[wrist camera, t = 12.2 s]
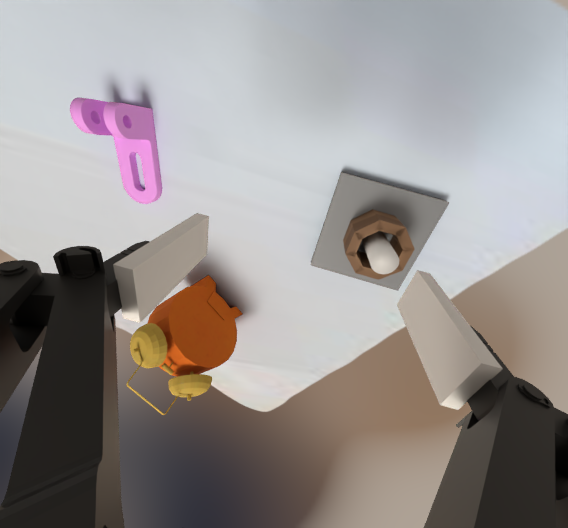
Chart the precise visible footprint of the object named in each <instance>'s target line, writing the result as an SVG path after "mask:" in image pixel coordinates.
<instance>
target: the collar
mask: <svg viewBox="0 0 568 528" xmlns="http://www.w3.org/2000/svg"><path fill="white" fill-rule="evenodd" d="M378 231H382V232H386V233H389V234H392V235H393V236H392V238H391V240H390V242H389V243H390V244H391V246H392V247H393V249H394V250H395V252H396V254H397V255H398V257H399V265H398V267H397V268H396V269H395V270H394V271H393V272H391V273H389V274H379V273H376V272H375V271H374V270H373V269H372V268H371V265H370V262H369V259H368V256H367V254H366V253H364V252H361V251H358V248H359V246H360V243H361V241H362V239H363V238H365V237H367V236H369V235H371V234H374V233H376V232H378ZM343 243H344V249H345V254H346V256H347V258H348V260H349V262H350V264H351V266H352V267H353V269H354V271H355V273H357V274H360V275H363V276H367V277H370V278H374V279H377V280H379V279H382V278H385V277H387V276H390V275H392V274H395V273H398V272H400V271H403V269H404V267H405V265H406V264H407V262H408V260H409V258H410V257H411V255H412V253H413V251H414V250H415V249H414V246H413V244H412V241H411V239H410V237H409V234H408V232H407V229H406V227H405V226H404V225H403V224H402V223H401V222H400V221H399V220H398V219H397V218H396V217H395V216H394V215H391V214H387V213H383V212H380V211H376V210H373V209H372V210H370V211H368V212H366V213H364V214H362V215H360V216H358V217H356V218H354V219H352V220H351V221H350V223H349V226H348V229H347V231H346V234H345V236H344V239H343Z"/></svg>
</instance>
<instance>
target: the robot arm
mask: <svg viewBox="0 0 568 528" xmlns="http://www.w3.org/2000/svg"><path fill="white" fill-rule="evenodd" d="M208 223H209V216H206V215H202V214H198V213H196V214H195V215H193V216H191V217H190V218H188V219H187V220H185V221H183V222H182V223H180V224H178V225H177V226H175V227H174V228H172V229H170V230H169V231H167V232H165V233H164V234H162V235H161V236H159V237H157V238H156V239H154V240H152V241H151V242H149V241H144V242H140V243H137V244H134V245H132V246H131V247H129V248H127V250H124V251H122V252H121V253H120V254H117V255H115V256H113V257H112V258H110V259H108V260H106V261H105V262H103V259H102V255H101V252H100V250H99V249H97V248H95V247H90V246H76V247H70V248H66V249H63V250H61V251H59V252H57V253H56V254H55V255H54V256H53V257H54V260H55V263H56V266H57V269H58V272H59V274H52V273H41V270H40V267H39V265H38V264H37V263H35V262H33V261H25V260H21V261H10V262H4V263H1V264H0V412H1V411H2V409H3V407H4V406H5V404H6V403H7V401H8V400H9V398H10V396H11V395H12V393H13V392H14V390H15V388H16V387H17V385H18V384H19V382H20V380H21V379H22V377H23V376H24V374H25V372H26V371H27V369H28V368H29V366H30V365H31V363H32V361H33V360H34V358H35V357H36V355H37V354H38V352H39V350H40V349H41V347H42V351H41V354H40V359H39V363H38V367H37V371H36V375H35V379H34V383H33V387H32V391H31V395H30V399H29V404H28V408H27V411H26V415H25V420H24V424H23V428H22V432H21V436H20V440H19V444H18V448H17V452H16V456H15V460H14V464H13V468H12V472H11V476H10V481H9V485H8V489H7V492H6V495H5V499H4V500H3V502H2V504H1V506H0V528H124V519H123V512H122V503H121V481H120V450H119V422H118V420H119V419H118V389H117V359H116V330H115V329H116V328H115V316H114V314H115V313H116V312H117V311H118V310H120V309H122V314H123V318H124V319H128V320H132V321H135V322H139V323H140V322H141V321H142V320H143V319H144V318H145V317H146V316H147V315H148V314H149V313H150V312H151V311H152V310H153V309H154V308H155V307H156V306H157V305H158V304H159V303H160V302H161V301H162V300H163V299H164V298H165V297H166V296H167V295H168V294H169V293H170V292H171V291H172V290H173V289H174V288H175V287H176V286H177V285H178V284H179V283H180V282H181V281H182V280H183V279H184V278H185V277H186V275H187V274H188V273H189V272H190V271H191V270H192V269H193V268H194V267H195V266H196V265H197V264H198V263H199V262H200V261H201V260H202V259H203V258H204V257H205V256H206V255H207V243H208ZM397 306H398V308H399V311H400V313H401V315H402V318H403V320H404V322H405V325H406V327H407V329H408V331H409V334H410V336H411V339H412V341H413V343H414V345H415V348H416V350H417V353H418V355H419V357H420V360H421V362H422V364H423V366H424V369H425V371H426V374H427V376H428V378H429V381H430V383H431V385H432V387H433V390H434V392H435V394H436V397H437V399H438V401H439V404H440V405H442V406H446V407H449V408H453V409H457V410H458V409H460V408H461V407H462V406H463V405H464V404H465V403H466V402H468V403H469V405H470V407H471V409H472V411H471V412H470V413H469V414H468V415H467V416H465V417H464V418H463V419H462V420H461V421H460V422H459V423H458V424H456V426H457V427H460V426H461V425H462V429H461V432H460V435H459V437H458V440H457V442H456V445H455V448H454V450H453V453H452V455H451V458H450V461H449V463H448V466H447V468H446V471H445V474H444V476H443V479H442V482H441V484H440V487H439V489H438V492H437V495H436V498H435V500H434V503H433V505H432V508H431V510H430V513H429V516H428V518H427V521H426V523H425V526H424V528H568V414H566V413H564V412H562V411H560V410H558V409H556V408H554V407H553V404H552V403H551V401H550V400H549V399H548V398H547V397H546V396H545V395H544V394H543V393H542V392H541V391H540V390H539V389H537V388H536V387H535V386H533V385H532V384H530V383H528V382H527V381H525V380H523V379H520V378H517V377H514V376H513V375H512V374H511V373H510V371H509V370H508V369H507V367H506V366H505V365H504V364H503V362H502V361H501V360H500V359H499V357H498V356H497V355H496V353H494V352H493V349H492V348H491V347H490V346H489V345H487V344H488V343H487V342H486V341H485V339H484V338H483V337H482V335H481V334H480V333H478V332H477V331H476V330H475V329H474V328H473V327H471V326H470V325H469V324H468V323H467V321H466V320H465V319H464V318H463V316H462V315H461V314H460V312H459V311H458V310H457V308H456V307H455V306H454V304H453V303H452V302H451V300H450V299H449V298H448V296H447V295H446V294H445V293H444V291H443V290H442V289H441V287H440V286H439V285H438V283H437V282H436V281H435V279H434V278H433V277H432V276H431V274H430V273H426V272H422V271H418V270H417V272H416V274H415V275H414V277H413V279H412V280H411V282H410V284H409V285H408V287H407V289H406V290H405V292H404V294H403V295H402V297H401V299H400V300H399V302H398V304H397Z"/></svg>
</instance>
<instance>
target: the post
mask: <svg viewBox="0 0 568 528" xmlns="http://www.w3.org/2000/svg"><path fill="white" fill-rule="evenodd" d="M448 204H449V202H447V201H445V200H442V199H438V198H435V197H431V196H427V195H424V194H420V193H417V192H413V191H409V190H406V189H402V188H398V187H395V186H391V185H388V184H384V183H380V182H377V181H373V180H370V179H366V178H362V177H359V176H355V175H351V174H348V173H344V172H341V174H340V177H339V180H338V183H337V186H336V189H335V192H334V195H333V198H332V201H331V204H330V207H329V210H328V213H327V216H326V219H325V222H324V225H323V228H322V231H321V234H320V237H319V240H318V243H317V246H316V249H315V252H314V255H313V258H312V260H311V265H312V266H315V267H318V268H322V269H325V270H329V271H332V272H336V273H339V274H343V275H346V276H349V277H353V278H356V279H360V280H363V281H367V282H370V283H373V284H377V285H380V286H384V287H387V288H391V289H394V290H397V291H398V290H399V288H400V286H401V284H402V283H403V281H404V279H405V278H406V276H407V274H408V272H409V271H410V269H411V267H412V266H413V264H414V262H415V260H416V259H417V257H418V255H419V254H420V252H421V250H422V249H423V247H424V245H425V243H426V242H427V240H428V238H429V237H430V235H431V233H432V231H433V230H434V228H435V226H436V225H437V223H438V221H439V219H440V218H441V216H442V214H443V213H444V211H445V209H446V207H447V206H448ZM372 209H373V210H376V211H380V212H383V213H387V214H391V215H394V216H395V217H396V218H397V219H398V220H399V221H400V222H401V223H402V224H403V225H404V226H405V227H406V229H407V232H408V234H409V237H410V239H411V241H412V244H413V246H414V249H415V250H414V251H413V253H412V255H411V257H410V258H409V260H408V262H407V264H406V265H405V267H404V269H403V271H400V272H398V273H395V274H392V275H390V276H387V277H385V278H382V279H379V280H377V279H374V278H370V277H367V276H363V275H360V274H357V273H355V271H354V269H353V267H352V266H351V264H350V262H349V260H348V258H347V256H346V254H345V249H344V243H343V239H344V236H345V234H346V231H347V229H348V226H349V223H350V221H351V220H352V219H354V218H356V217H358V216H360V215H362V214H364V213H366V212H368V211H370V210H372ZM392 236H393V235H392V234H389V233H386V232H382V231H378V232H376V233H374V234H371V235H369V236H367V237H365V238H363V239H362V241H361V243H360V246H359V248H358V251H361V252H364V253H366V254H367V256H368V259H369V262H370V265H371V268H372V269H373V270H374V271H375V272H376V273H379V274H389V273H391V272H393V271H394V270H395V269H396V268H397V267H398V265H399V257H398V255H397V254H396V252H395V250H394V249H393V247H392V246H391V244H390V243H389V242H390V240H391V238H392Z"/></svg>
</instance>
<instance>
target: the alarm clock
mask: <svg viewBox="0 0 568 528" xmlns="http://www.w3.org/2000/svg"><path fill="white" fill-rule="evenodd" d="M240 315H242V313H241V311H240V310H239V309H238V308H237V307H233V308H229V306H228V305H227V303H226V302H225V301H224V299H223V298H222V297H220V296H219V295H218V294H217V293H216V283H215V282H214V281H213V279H212V278H211V277H210V276H209V275H208V276H206V277H205V278H203V279H202V280H200V281H198V282H197V283H195V284H194V285H192V286H191V287H186V288H185V289H183V290H182V291H180V292H178V293H177V294H175V295H174V296H172V297H171V298H169V299H168V300H166V301H164V302H163V303H161V304H160V305H158V306H157V307H156V308H155V310H154V311H153V312H152V314H151V315H150V317H149V320H148V324H145V325H143V326H141V327H140V328H138V329H137V330H136V331H135V333H134V334H133V336H132V338H131V342H130V350H131V354H132V357H133V359H134V361H135V362H136V363H137V364H138V365H139V367H140V366H142V367H145V368H152V367H158V366H159V367H160V368H161V369H162V370H164V371H166V372H167V373H169V374H170V375H173V376H178V377H175V378H172V379H170V380H169V382H168V384H169V390H170V391H171V393H172V394H173V395H176V396H177V397H178V396H179V397H187V400H188V401H189V400H191V397H192V396H197V395H200V394H202V393H204V392H206V391H207V390H208V388H209V387H210V385H211V382H212V377H211V376H208V375H202V374H201V373H203V372H205V371H208V370H210V369H213V368H215V367H218V366H220V365H221V364H223V363H224V362H226V361H227V360H228V359H229V358H230V356H231V355H232V353H233V352H234V348H235V345H236V341H237V328H236V323H235V318H237V317H238V316H240ZM139 367H138V369H139ZM138 369H137V370H138ZM137 370H136V371H137ZM136 371H135V372H134V374H135V373H136ZM134 374H133V375H134ZM133 375H132V377H133ZM132 377H131V378H132ZM131 378H130V379H129V381H130V380H131ZM129 381H128V382H129ZM128 382H127V387H129V388H130V389H131V390H133V391H134V392H135V393H136V394H137V395H139V396H140V397H141V398H142V399H144V400H145V401H146V402H147V403H149V404H150V405H151V406H152V407H153V408H155V409H156V410H157V411H158V412H160V413H161V414H162V415H164V414H163V413H162V412H161V411H160V410H158V409H157V408H156V407H155V406H153V405H152V404H151V403H150V402H149V401H147V400H146V399H145V398H144V397H142V396H141V395H140V394H139V393H138V392H136V391H135V390H134V389H133V388H131V387H130V386H129V385H128ZM177 397H176V398H175V400H176V399H177ZM175 400H174V401H173V403H174V402H175ZM173 403H172V404H173ZM172 404H171V406H172ZM171 406H170V407H169V408H168V410H167V412H168V411H169V409H170V408H171ZM167 412H166V413H167ZM166 413H165V414H166Z"/></svg>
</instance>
